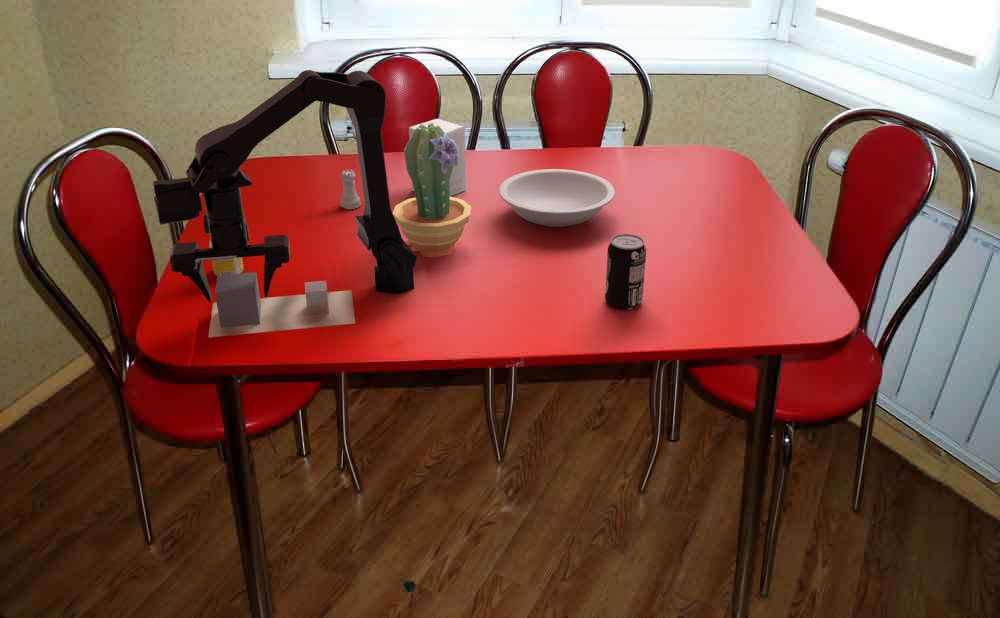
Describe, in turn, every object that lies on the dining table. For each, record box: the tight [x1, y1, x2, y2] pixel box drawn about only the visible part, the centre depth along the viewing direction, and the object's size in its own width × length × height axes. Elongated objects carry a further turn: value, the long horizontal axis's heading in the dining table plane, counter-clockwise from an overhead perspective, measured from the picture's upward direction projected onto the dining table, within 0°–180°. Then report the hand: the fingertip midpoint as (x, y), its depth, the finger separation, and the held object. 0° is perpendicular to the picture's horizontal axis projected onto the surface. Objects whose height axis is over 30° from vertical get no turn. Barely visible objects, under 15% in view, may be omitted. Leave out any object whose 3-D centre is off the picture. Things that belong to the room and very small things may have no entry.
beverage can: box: [604, 233, 647, 311], centre depth 167 cm, size 7×7×12 cm
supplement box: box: [408, 118, 467, 197], centre depth 212 cm, size 9×9×15 cm
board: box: [208, 290, 356, 338], centre depth 165 cm, size 24×12×1 cm, turn 101°
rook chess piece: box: [339, 169, 362, 210], centre depth 206 cm, size 4×4×8 cm
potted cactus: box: [392, 123, 472, 258], centre depth 184 cm, size 15×15×25 cm
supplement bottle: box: [208, 239, 245, 277], centre depth 177 cm, size 5×5×10 cm
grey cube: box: [304, 280, 329, 315], centre depth 165 cm, size 4×4×4 cm
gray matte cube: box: [214, 271, 261, 328], centre depth 162 cm, size 6×6×7 cm
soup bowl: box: [498, 168, 616, 228], centre depth 200 cm, size 24×24×7 cm
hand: (238, 298), depth 162 cm, fingers open, 9 cm apart
